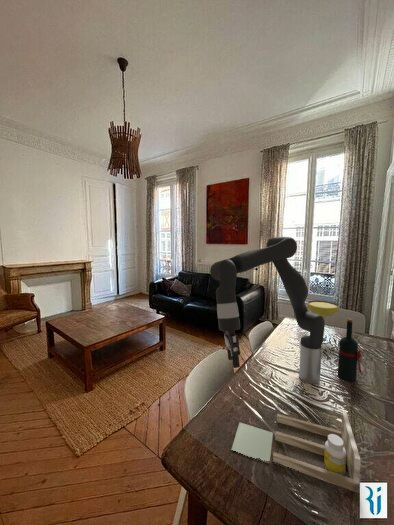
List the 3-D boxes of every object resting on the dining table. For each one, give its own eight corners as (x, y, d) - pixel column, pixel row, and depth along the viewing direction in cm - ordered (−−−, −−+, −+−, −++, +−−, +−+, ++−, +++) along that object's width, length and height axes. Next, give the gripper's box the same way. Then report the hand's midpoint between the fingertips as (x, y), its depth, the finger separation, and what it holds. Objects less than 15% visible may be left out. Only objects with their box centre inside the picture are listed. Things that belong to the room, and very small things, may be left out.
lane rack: (277, 419, 86) (277, 395, 85) (344, 438, 77) (346, 412, 76) (273, 462, 69) (273, 432, 68) (358, 493, 61) (360, 459, 60)
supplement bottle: (325, 457, 71) (327, 428, 70) (346, 467, 67) (347, 438, 66) (322, 470, 67) (323, 440, 66) (343, 483, 63) (345, 451, 62)
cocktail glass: (307, 332, 165) (308, 299, 162) (336, 337, 156) (338, 302, 153) (305, 342, 149) (306, 305, 147) (337, 348, 140) (338, 309, 138)
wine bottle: (358, 387, 104) (362, 324, 101) (334, 376, 112) (337, 318, 109) (364, 380, 108) (368, 320, 105) (341, 371, 116) (343, 315, 114)
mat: (239, 423, 84) (239, 422, 84) (272, 433, 80) (272, 432, 80) (231, 450, 73) (231, 449, 73) (269, 464, 69) (269, 463, 69)
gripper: (243, 316, 73) (250, 369, 71) (234, 312, 87) (239, 356, 85) (220, 319, 72) (226, 371, 70) (215, 314, 86) (220, 358, 84)
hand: (233, 363), depth 78 cm, fingers open, 8 cm apart
